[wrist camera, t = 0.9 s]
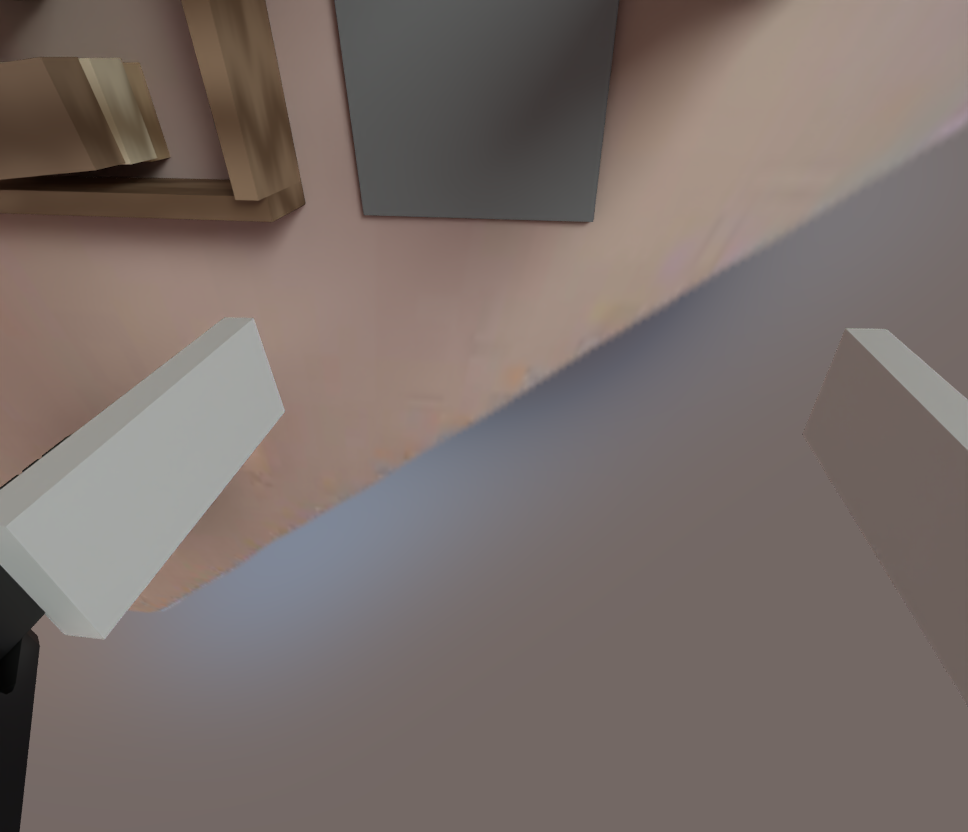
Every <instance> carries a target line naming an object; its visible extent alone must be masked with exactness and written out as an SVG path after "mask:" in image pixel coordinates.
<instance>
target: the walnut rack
mask: <svg viewBox="0 0 968 832" xmlns="http://www.w3.org/2000/svg"><path fill="white" fill-rule="evenodd" d="M181 2H182V6H183V10H184V13H185V17H186V21H187V24H188V28H189V32H190V35H191V39H192V42H193V46H194V50H195V53H196V57H197V61H198V64H199V68H200V72H201V75H202V79H203V83H204V86H205V90H206V94H207V97H208V101H209V105H210V108H211V112H212V116H213V119H214V123H215V127H216V130H217V134H218V138H219V141H220V145H221V148H222V152H223V156H224V159H225V163H226V167H227V170H228V174H229V178H230V180H220V179H176V178H131V177H87V176H32V177H22V178H12V179H2V180H0V213H11V214H42V215H73V216H104V217H135V218H166V219H197V220H228V221H259V222H273V221H275V220H277V219H279V218H281V217H283V216H284V215H286V214H288V213H290V212H292V211H293V210H295V209H297V208H299V207H301V206H303V205H304V204H305V199H304V194H303V189H302V184H301V179H300V174H299V169H298V164H297V159H296V154H295V149H294V144H293V139H292V133H291V128H290V123H289V118H288V113H287V108H286V103H285V98H284V93H283V88H282V83H281V78H280V73H279V68H278V63H277V58H276V53H275V48H274V43H273V38H272V33H271V28H270V23H269V18H268V13H267V8H266V3H265V0H181Z"/></svg>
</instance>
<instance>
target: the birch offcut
mask: <svg viewBox="0 0 968 832" xmlns="http://www.w3.org/2000/svg"><path fill="white" fill-rule="evenodd" d="M78 59H79V62H80V64H81V66H82V68H83V70H84V73H85V75H86V77H87V79H88V81H89V83H90V86H91V88H92V90H93V92H94V94H95V97H96V99H97V101H98V103H99V105H100V108H101V110H102V112H103V114H104V116H105V119H106V121H107V123H108V125H109V127H110V130H111V132H112V134H113V136H114V138H115V141H116V143H117V145H118V147H119V149H120V152H121V154H122V156H123V158H124V160H125V163H124V164H135V163H139V162H143V161H147V160H151V159H156V158H157V156H156V153H155V151H154V148H153V145H152V142H151V140H150V137H149V134H148V132H147V129H146V126H145V123H144V121H143V118H142V115H141V112H140V110H139V107H138V104H137V102H136V99H135V96H134V93H133V91H132V88H131V85H130V83H129V80H128V77H127V74H126V72H125V69H124V66H123V64H122V61H121V58H78ZM0 63H2V62H0ZM120 165H123V164H120Z"/></svg>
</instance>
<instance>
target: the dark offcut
mask: <svg viewBox="0 0 968 832" xmlns="http://www.w3.org/2000/svg"><path fill="white" fill-rule="evenodd" d="M124 163H125V160H124V158H123V156H122V154H121V152H120V149H119V147H118V145H117V143H116V141H115V138H114V136H113V134H112V132H111V130H110V127H109V125H108V123H107V121H106V119H105V116H104V114H103V112H102V110H101V108H100V105H99V103H98V101H97V99H96V97H95V94H94V92H93V90H92V88H91V86H90V83H89V81H88V79H87V77H86V75H85V73H84V70H83V68H82V66H81V64H80V62H79V59H78V57H37V58H30V59H23V60H16V61H9V62H2V63H0V180H2V179H12V178H22V177H32V176H42V175H52V174H62V173H73V172H83V171H93V170H99V169H103V168H107V167H111V166H116V165H120V164H124Z"/></svg>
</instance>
